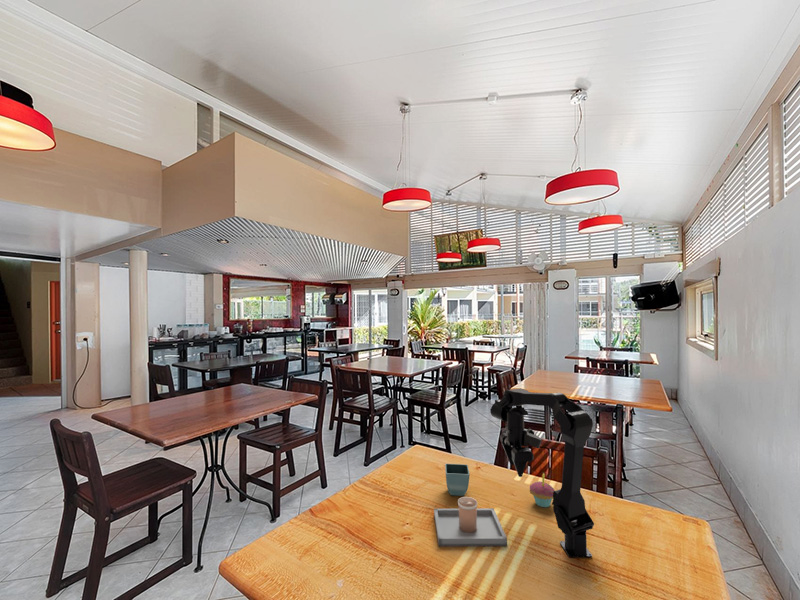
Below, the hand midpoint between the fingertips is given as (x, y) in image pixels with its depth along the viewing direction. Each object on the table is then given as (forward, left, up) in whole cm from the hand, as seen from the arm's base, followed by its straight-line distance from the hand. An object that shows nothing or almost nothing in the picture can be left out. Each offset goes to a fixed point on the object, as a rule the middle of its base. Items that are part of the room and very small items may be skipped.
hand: (516, 470), depth 127 cm
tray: (-12, +19, -13) cm, 26 cm away
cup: (-12, +19, -12) cm, 26 cm away
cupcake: (+3, -10, -13) cm, 17 cm away
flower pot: (+11, +19, -13) cm, 26 cm away
